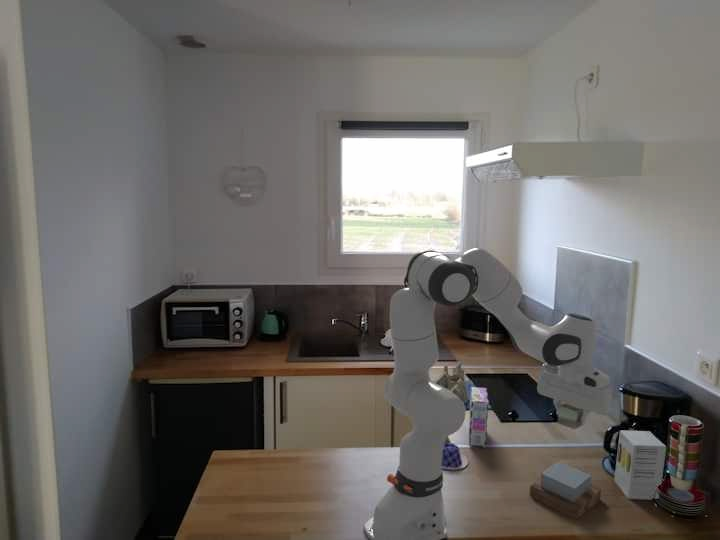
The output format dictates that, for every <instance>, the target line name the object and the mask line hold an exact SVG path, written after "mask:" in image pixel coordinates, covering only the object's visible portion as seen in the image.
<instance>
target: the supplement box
mask: <svg viewBox="0 0 720 540" xmlns="http://www.w3.org/2000/svg"><path fill="white" fill-rule="evenodd" d="M618 436H619V437H618V442H617V443H618V445H617V455H616V461H615V462H616V463H615V471H614V480H613V481H614V482H615V484H616V486H618V488H619V489H620V490H621V492H622V493H623V494H624V496H625V497H626V498H627V499H628V500H648V501H649V500H651V501H652V499H653V498H654V494H655V491H656V488H657V487H658V486H659V485H661V484H662V485H663V476H664V467H665V460H666V452H667V446H666V445H665V444H664V443H663V442H662V441H661V440H660V439H659V438H658V437H656V436H655V435H654V434H653V433H652V432H651V431H650V430H647V431H646V430H625V429H624V430H619V434H618ZM662 485H661V486H662Z"/></svg>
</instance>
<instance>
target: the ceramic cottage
mask: <svg viewBox="0 0 720 540" xmlns="http://www.w3.org/2000/svg"><path fill="white" fill-rule="evenodd" d="M448 371H449V366H448V365H447V364H444V367H443V371H442V372H441V374H440V375H438V377H436V378H435V379H434V383H436V384H438V385H440V386H442V387H444V388H446V389H448V390H450V391H451V392H453V393H454V394H455V395H456V396H457V397H458V398H459V399H460V400H461V401H462V402H463V403H465V402H466V401H468V400H469V395H468V390H467V384H466V383H467V382H465V368H462V363H461V362H458V364H457V365H456V366H455V367H452V375H450V374H449V373H448ZM468 402H469V401H468Z"/></svg>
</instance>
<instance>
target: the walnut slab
mask: <svg viewBox="0 0 720 540" xmlns="http://www.w3.org/2000/svg"><path fill="white" fill-rule="evenodd" d="M540 481H541V478H539V479H538V480H536V481H535V482H533V483H532V484H530V486H529V487H530V488H529V496H530V497H531V498H533V499H536V500H537V501H539V502H541V503H543V504H545V505H547V506H549V507H551V508H552V509H554V510H557V511H559V512H561V513H563V514H564V515H567V516H569V517H570V518H573V520H578V519H579V518H580V517H581V516H582V515H584V514H585V513H586V512H587V511H589V510H590V509H591V508H592V507H593V506H594V505H596V504H598V502H599V501H601V496H602V488H600V487H597V486H595V485H592V484H590V489H589V490H588V491H586V492H585V493H584V494H583V495H582V496H581V497H579V498H578V499H577V500H576V501H575V502H573V501H570V500H568V499H566V498H564V497H562V496H560V495H558V494H556V493H553V492H551V491H549V490H547V489H545V488H543V487H541V486H540Z"/></svg>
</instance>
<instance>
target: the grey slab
mask: <svg viewBox="0 0 720 540" xmlns="http://www.w3.org/2000/svg"><path fill="white" fill-rule="evenodd" d="M540 479H541V481H540V486H541V487H543V488H545V489H547V490H549V491H551V492H553V493H556V494H558V495H560V496H562V497H564V498H566V499H568V500H570V501H573V502H575V501H576V500H577V499H578V498H579V497H581V496H582V495H583V494H584V493H585V492H586V491H588V490H589V489H590V484H591V481H592V474H589V473H586V472H584V471H582V470H579V469H577V468H574V467H573V466H569V465H567V464H565V463H562V462H561V461H556V462H555V463H554V464H552V465H551V466H549V467H548V468H546V469H545V470H544V471H543V472H541V473H540ZM591 485H592V484H591Z"/></svg>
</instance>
